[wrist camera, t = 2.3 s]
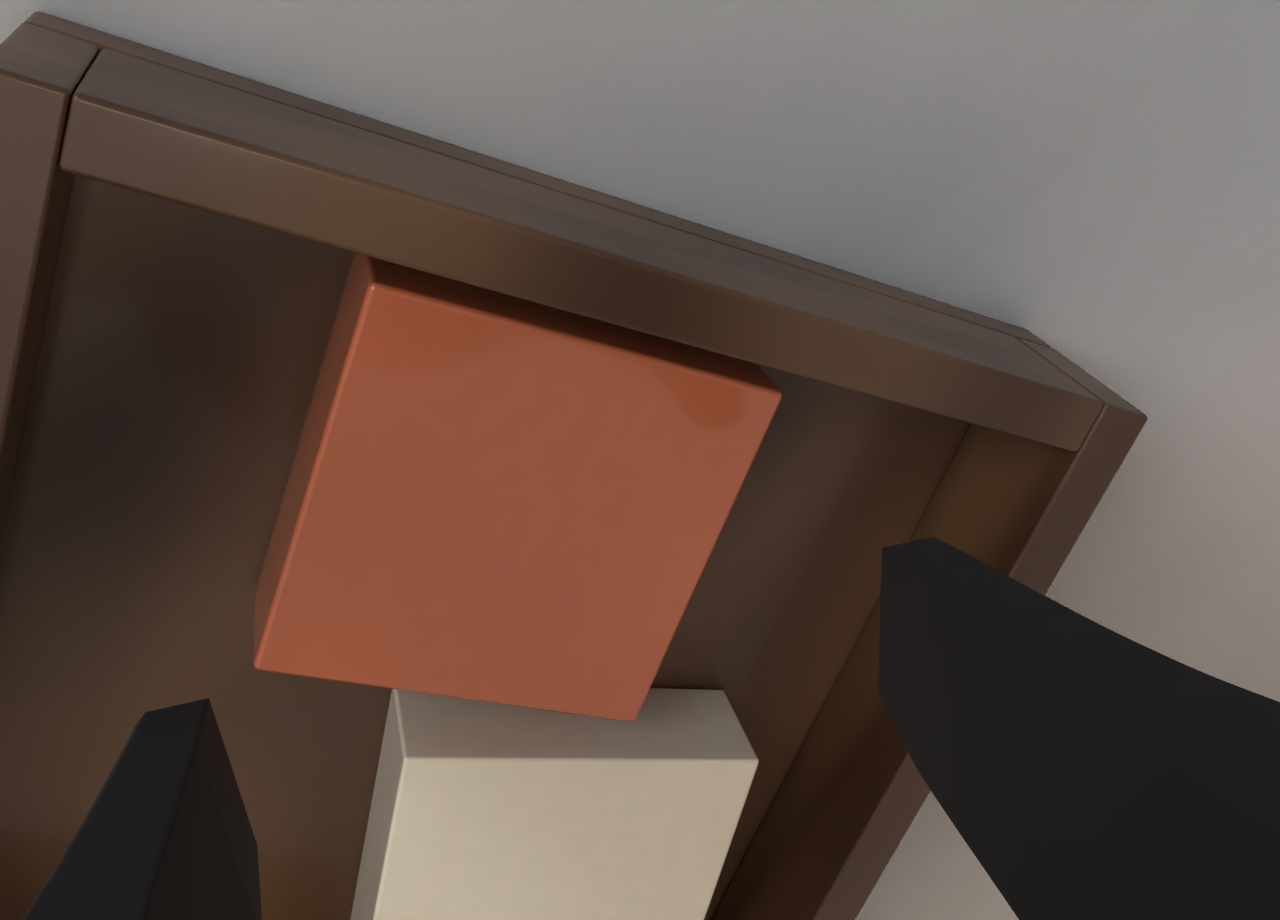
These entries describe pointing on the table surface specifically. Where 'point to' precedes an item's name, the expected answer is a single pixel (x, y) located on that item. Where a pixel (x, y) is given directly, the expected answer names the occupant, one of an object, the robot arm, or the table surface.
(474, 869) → the cream coaster
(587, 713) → the terracotta coaster
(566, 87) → the table surface
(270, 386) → the tray
